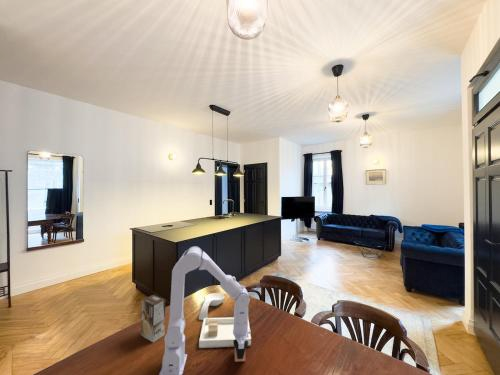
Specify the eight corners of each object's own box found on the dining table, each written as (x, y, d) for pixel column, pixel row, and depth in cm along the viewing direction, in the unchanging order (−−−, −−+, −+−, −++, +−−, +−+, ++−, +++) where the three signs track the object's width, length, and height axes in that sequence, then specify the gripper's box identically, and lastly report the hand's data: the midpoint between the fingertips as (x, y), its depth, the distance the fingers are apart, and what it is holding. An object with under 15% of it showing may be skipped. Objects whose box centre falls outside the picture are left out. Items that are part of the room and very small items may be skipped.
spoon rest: (208, 297, 133) (208, 285, 133) (226, 299, 131) (227, 287, 131) (192, 320, 110) (192, 306, 110) (214, 322, 108) (214, 308, 108)
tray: (250, 346, 92) (251, 338, 92) (198, 347, 90) (199, 340, 90) (247, 322, 108) (248, 317, 108) (203, 324, 106) (204, 318, 106)
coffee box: (165, 334, 98) (166, 299, 98) (152, 343, 92) (154, 305, 92) (152, 327, 102) (153, 294, 103) (139, 335, 97) (141, 299, 97)
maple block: (217, 336, 97) (217, 325, 97) (208, 336, 96) (208, 325, 96) (217, 330, 101) (217, 319, 101) (209, 330, 100) (209, 320, 100)
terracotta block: (245, 361, 84) (245, 348, 84) (234, 361, 84) (235, 348, 84) (244, 353, 88) (244, 341, 88) (234, 353, 88) (235, 341, 88)
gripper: (252, 331, 79) (251, 368, 79) (249, 309, 93) (248, 340, 93) (233, 331, 78) (232, 369, 78) (233, 309, 93) (232, 341, 93)
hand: (239, 353), depth 86 cm, fingers closed on terracotta block, 4 cm apart
